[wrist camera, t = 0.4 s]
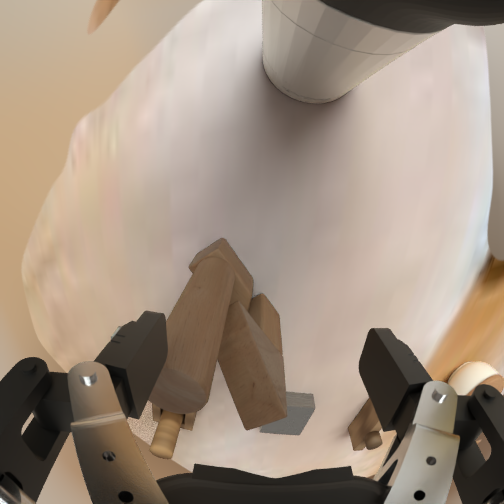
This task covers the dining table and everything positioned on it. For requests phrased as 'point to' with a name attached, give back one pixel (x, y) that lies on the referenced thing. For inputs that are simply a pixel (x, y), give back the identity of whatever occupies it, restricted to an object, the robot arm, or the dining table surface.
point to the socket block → (186, 422)
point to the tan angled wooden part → (223, 342)
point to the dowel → (166, 435)
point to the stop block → (365, 429)
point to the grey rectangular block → (293, 415)
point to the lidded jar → (474, 377)
